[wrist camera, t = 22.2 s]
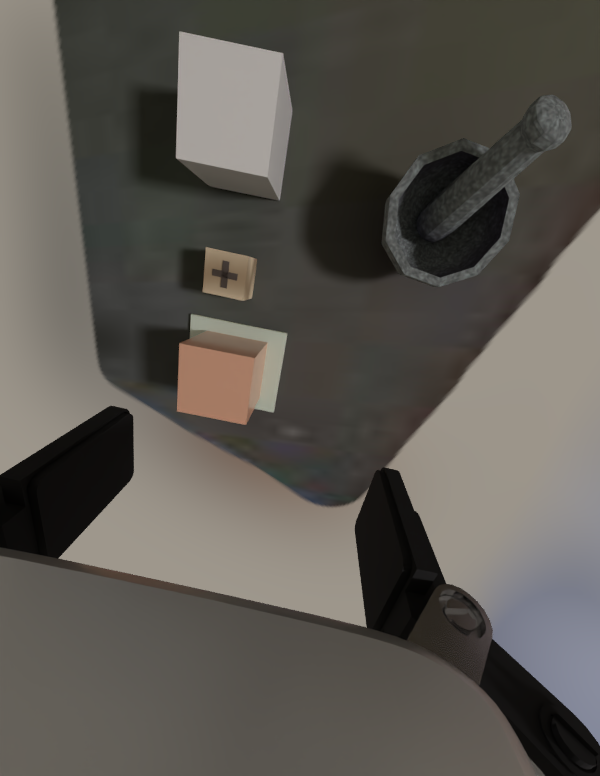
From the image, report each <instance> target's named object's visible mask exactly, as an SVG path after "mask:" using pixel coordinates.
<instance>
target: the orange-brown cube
mask: <svg viewBox="0 0 600 776" xmlns="http://www.w3.org/2000/svg"><path fill="white" fill-rule="evenodd" d="M267 344H268V342H263V341H258V340H253V339H248V338H243V337H238V336H233V335H228V334H223V333H218V332H212V331H205V332H203V333H201V334H199V335H196V336H194V337H192V338H190V339H188V340H185V341H183V342H181V343H179V370H178V400H177V411H178V412H183V413H188V414H194V415H199V416H204V417H209V418H214V419H219V420H224V421H229V422H234V423H239V424H244V425H246V424H247V422H248V420H249V418H250V416H251V414H252V412H253V410H254V408H255V406H256V404H257V402H258V400H259V398H260V392H261V385H262V378H263V371H264V365H265V358H266V351H267Z"/></svg>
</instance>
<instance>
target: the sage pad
mask: <svg viewBox="0 0 600 776" xmlns="http://www.w3.org/2000/svg"><path fill="white" fill-rule="evenodd" d="M205 331H212V332H218V333H223V334H228V335H233V336H238V337H243V338H248V339H253V340H258V341H263V342H268V344H267V351H266V358H265V365H264V371H263V378H262V385H261V392H260V398H259V400H258V402H257V404H256V406H255V408H254V409H259V410H264V411H269V412H274V408H275V403H276V397H277V391H278V385H279V380H280V374H281V368H282V362H283V357H284V351H285V345H286V339H287V334H288V333H285V332H280V331H275V330H270V329H265V328H260V327H255V326H250V325H245V324H240V323H235V322H230V321H225V320H220V319H216V318H211V317H206V316H201V315H196V314H191V324H190V338H192V337H194V336H196V335H199V334H201V333H203V332H205Z"/></svg>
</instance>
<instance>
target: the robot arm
mask: <svg viewBox="0 0 600 776" xmlns="http://www.w3.org/2000/svg"><path fill="white" fill-rule="evenodd" d="M133 450H134V449H133V416H132V415H131V414H130V413H129V411H128V410H127V409H124V408H119V407H115V406H109V407H107V408H106V409H104V410H103V411H101V412H99V413H98V414H96V415H95V416H93V417H92V418H90V419H88V420H87V421H85V422H84V423H82V424H80V425H79V426H78V427H76V428H74V429H72V430H71V431H69V432H68V433H66V434H65V435H63V436H61V437H60V438H58V439H57V440H55V441H53V442H52V443H50V444H49V445H47V446H45V447H44V448H42V449H41V450H39V451H37V452H36V453H34V454H33V455H31V456H30V457H28V458H26V459H25V460H23V461H22V462H20V463H18V464H17V465H15V466H14V467H12V468H10V469H9V470H7V471H6V472H4V473H2V474H1V475H0V776H600V746H599V744H598V742H597V741H596V739H595V738H594V737H593V736H592V734H591V733H590V732H589V730H588V729H587V728H586V726H584V724H583V723H582V722H581V721H580V720H579V719H578V718H577V717H576V716H575V715H574V714H573V713H572V712H571V711H570V710H569V709H568V708H566V706H564V705H563V704H562V703H561V702H560V701H559V700H558V699H557V698H556V697H555V696H554V695H552V694H551V693H550V692H549V691H548V690H547V689H546V688H545V687H544V686H543V685H542V684H541V683H539V682H538V681H537V680H536V679H535V678H534V677H533V676H532V675H531V674H530V673H529V672H527V671H526V670H525V669H524V668H523V667H522V666H521V665H520V664H519V663H518V662H517V661H516V660H515V659H513V658H512V657H511V656H510V655H509V654H508V653H507V652H506V651H505V650H504V649H503V648H501V647H500V646H499V645H498V644H497V643H496V642H495V641H494V640H493V639H492V631H493V630H492V626H491V623H490V620H489V618H488V616H487V614H486V612H485V611H484V609H483V608H482V607H481V606H480V605H479V603H478V602H477V601H476V600H475V599H474V598H473V597H472V596H471V595H470V594H468V593H467V592H465V591H464V590H462V589H461V588H459V587H456V586H454V585H450V584H446V582H445V580H444V577H443V575H442V572H441V569H440V567H439V564H438V562H437V559H436V557H435V555H434V552H433V549H432V547H431V544H430V542H429V539H428V537H427V534H426V532H425V529H424V526H423V524H422V521H421V519H420V517H419V515H418V513H417V512H416V511H414V509H413V506H412V504H411V501H410V499H409V496H408V494H407V491H406V488H405V486H404V483H403V480H402V478H401V475H400V473H399V471H397V470H393V469H389V468H384V467H383V468H382V469H381V471H380V470H377V471H376V472H375V474H374V477H373V480H372V482H371V485H370V487H369V490H368V492H367V495H366V497H365V500H364V502H363V505H362V508H361V511H360V513H359V515H358V518H357V520H356V524H355V535H356V544H357V552H358V560H359V568H360V576H361V584H362V593H363V601H364V609H365V616H366V625H367V628H366V627H361V626H358V625H354V624H350V623H345V622H341V621H337V620H333V619H329V618H325V617H321V616H317V615H313V614H308V613H304V612H299V611H295V610H290V609H286V608H281V607H277V606H273V605H269V604H264V603H260V602H255V601H251V600H246V599H241V598H237V597H233V596H228V595H224V594H219V593H215V592H210V591H206V590H201V589H197V588H192V587H187V586H183V585H178V584H174V583H169V582H164V581H160V580H156V579H151V578H146V577H142V576H137V575H133V574H128V573H123V572H118V571H113V570H109V569H104V568H99V567H95V566H89V565H85V564H81V563H76V562H72V561H67V560H62V559H58V558H59V557H60V556H61V555H62V553H64V552H65V550H66V549H67V548H68V547H69V546H70V545H71V544H72V543H73V542H74V541H75V539H77V537H78V536H79V535H80V534H81V533H82V532H83V531H84V530H85V529H86V528H87V527H88V526H89V525H90V523H91V522H92V521H93V520H94V519H95V518H96V517H97V516H98V515H99V514H100V513H101V512H102V510H103V509H104V508H105V507H106V506H107V505H108V504H109V503H110V502H111V501H112V500H113V499H114V497H115V496H116V495H117V494H118V493H119V492H120V491H121V490H122V489H123V487H125V486H126V485H127V483H128V482H129V481H130V480H131V478H132V476H133V473H134V453H133V452H134V451H133Z"/></svg>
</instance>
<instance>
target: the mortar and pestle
mask: <svg viewBox="0 0 600 776" xmlns="http://www.w3.org/2000/svg"><path fill="white" fill-rule="evenodd" d="M570 130H571V114H570V111H569V110H568V108H567V106H566V104H565V103H564V102H563V101H562V100H560V99H559V98H558V97H556V96H554V95H546V96H541V97H539V98H538V99H537V100H536V101H534V102H533V103H532V104H531V105H530V107H529V108H528V110H527V111H526V113H525V115H524V116H523V119H522V120H521V121H520V122H519V123H518V124H517V125H515V126H514V127H513V128H512V129H511V130H510V131H509V132H508V133H507V134H505V135H504V136H503V137H502V138H501V139H500V140H499V141H498V142H496V143H495V144H494V145H493V146H492V147H491V148H487V147H485V146H482V145H480V144H477V143H475V142H472V141H470V140H467V139H465V138H463V139H460V140H458V141H455V142H452V143H450V144H447V145H445V146H442V147H439V148H437V149H434V150H432V151H429V152H427V153H424V154H421V155H419V156H418V158H417V159H416V160H415V161H414V163H413V164H412V165H411V167H410V168H409V170H408V171H407V172H406V174H405V175H404V176H403V178H402V179H401V181H400V182H399V183H398V185H397V186H396V187H395V189H394V190H393V192H392V193H391V194H390V196H389V197H388V199H387V200H386V204H385V212H384V222H383V232H382V243H381V244H382V246H383V248H384V249H385V251H386V253H387V255H388V256H389V258H390V260H391V262H392V263H393V265H394V267H395V269H396V271H397V272H398V273H399V274H400V275H402V276H405V277H408V278H411V279H413V280H416V281H419V282H422V283H424V284H427V285H430V286H433V287H440V286H443V285H447V284H450V283H453V282H456V281H460V280H463V279H466V278H469V277H473V276H476V275H478V274H479V273H480V272H481V271H482V270H483V269H484V267H485V266H486V265H487V264H488V263H489V262H490V261H491V260H492V259H493V258H494V256H495V255H496V254H497V253H498V252H499V251H500V250H501V249H502V248H503V247H504V245H505V244H506V243H507V242H508V241H509V238H510V234H511V229H512V225H513V221H514V217H515V212H516V208H517V204H518V200H519V195H520V194H519V191H518V189H517V187H516V184H515V182H514V178H515V177H516V176H517V175H518V174H519V173H520V172H522V171H523V170H524V169H525V168H526V167H527V166H528V165H529V164H531V163H532V162H533V161H534V160H535V159H536V158H537V157H539V156H540V155H541V154H542V153H543V152H544V151H548V150H552V149H555V148H556V147H557V146H559V145H560V144H561V143H562V142H564V140H565V139H566V137H567V135H568V134H569V132H570Z"/></svg>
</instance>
